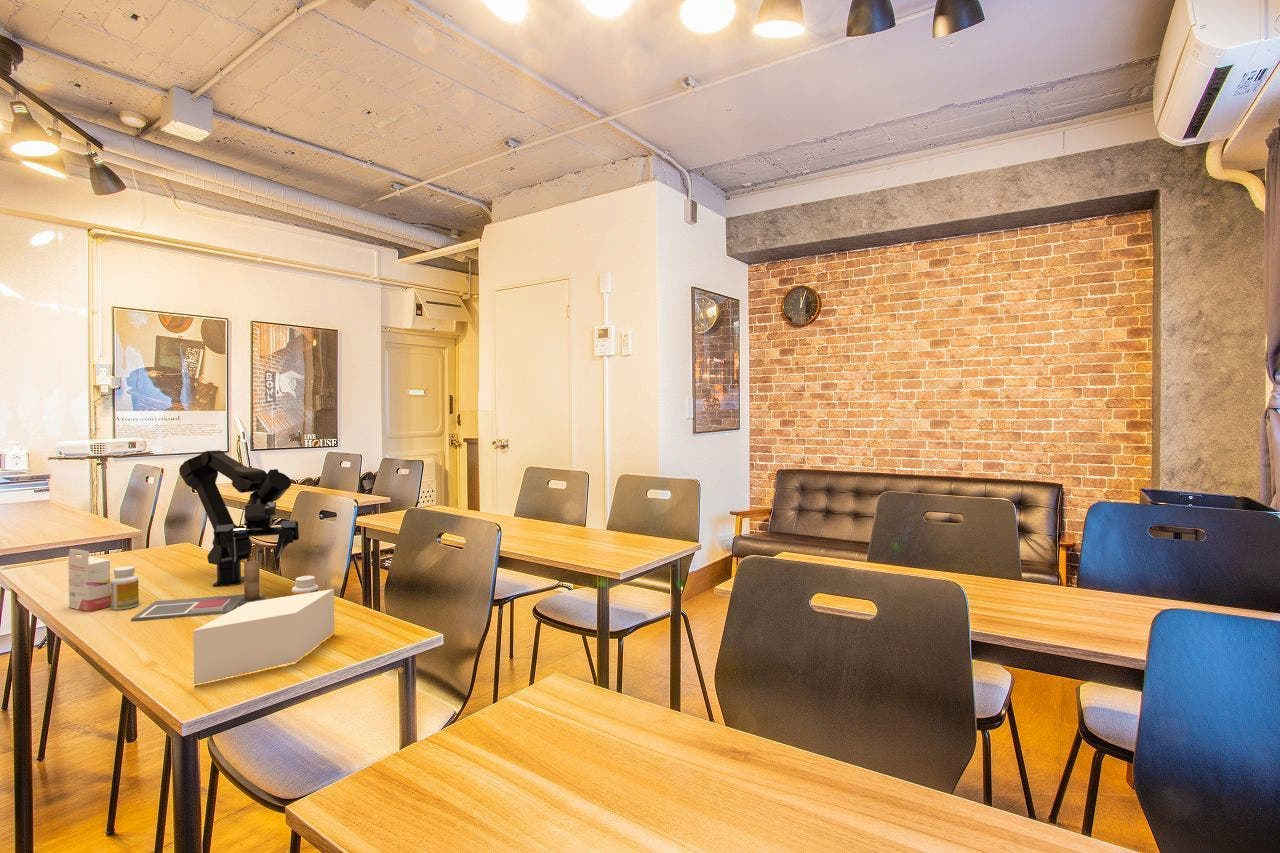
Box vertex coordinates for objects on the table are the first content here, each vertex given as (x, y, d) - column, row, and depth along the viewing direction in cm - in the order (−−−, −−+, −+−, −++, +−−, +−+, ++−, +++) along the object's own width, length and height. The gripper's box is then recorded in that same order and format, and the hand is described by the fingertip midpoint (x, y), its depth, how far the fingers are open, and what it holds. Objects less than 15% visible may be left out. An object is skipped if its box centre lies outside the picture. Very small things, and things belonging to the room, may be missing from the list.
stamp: (242, 607, 157) (241, 561, 157) (265, 604, 159) (264, 559, 159) (238, 613, 153) (237, 565, 152) (262, 610, 155) (261, 564, 154)
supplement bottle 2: (311, 625, 144) (311, 580, 144) (286, 625, 144) (286, 581, 144) (323, 617, 150) (322, 574, 150) (299, 617, 150) (298, 574, 150)
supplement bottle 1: (144, 604, 159) (143, 565, 159) (125, 610, 154) (124, 571, 153) (124, 603, 160) (124, 565, 159) (104, 610, 154) (104, 570, 154)
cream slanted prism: (170, 679, 116) (169, 624, 115) (311, 630, 142) (311, 584, 142) (219, 695, 110) (218, 637, 109) (358, 640, 136) (357, 593, 136)
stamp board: (155, 603, 160) (155, 596, 159) (246, 596, 166) (246, 589, 166) (131, 621, 146) (131, 613, 146) (231, 612, 153) (230, 605, 153)
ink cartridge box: (112, 606, 157) (111, 547, 157) (88, 612, 152) (87, 551, 152) (91, 602, 160) (90, 544, 160) (67, 608, 156) (66, 548, 155)
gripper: (214, 493, 160) (205, 545, 150) (298, 490, 168) (294, 539, 158) (220, 519, 168) (212, 570, 158) (300, 515, 175) (297, 563, 165)
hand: (255, 560), depth 160 cm, fingers open, 9 cm apart
